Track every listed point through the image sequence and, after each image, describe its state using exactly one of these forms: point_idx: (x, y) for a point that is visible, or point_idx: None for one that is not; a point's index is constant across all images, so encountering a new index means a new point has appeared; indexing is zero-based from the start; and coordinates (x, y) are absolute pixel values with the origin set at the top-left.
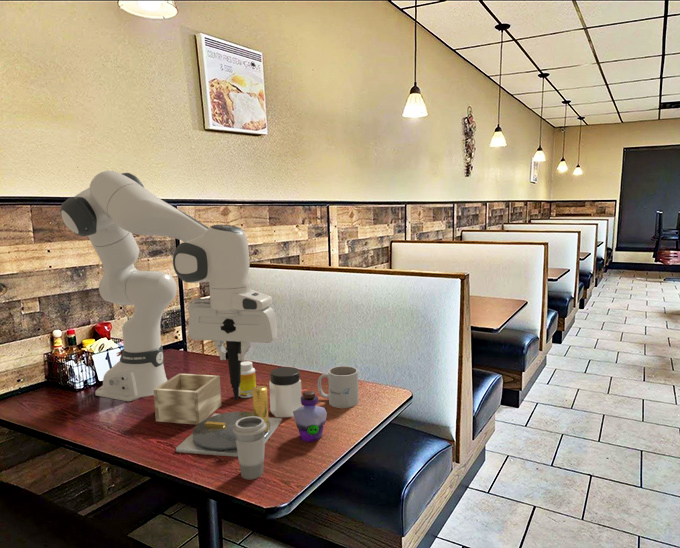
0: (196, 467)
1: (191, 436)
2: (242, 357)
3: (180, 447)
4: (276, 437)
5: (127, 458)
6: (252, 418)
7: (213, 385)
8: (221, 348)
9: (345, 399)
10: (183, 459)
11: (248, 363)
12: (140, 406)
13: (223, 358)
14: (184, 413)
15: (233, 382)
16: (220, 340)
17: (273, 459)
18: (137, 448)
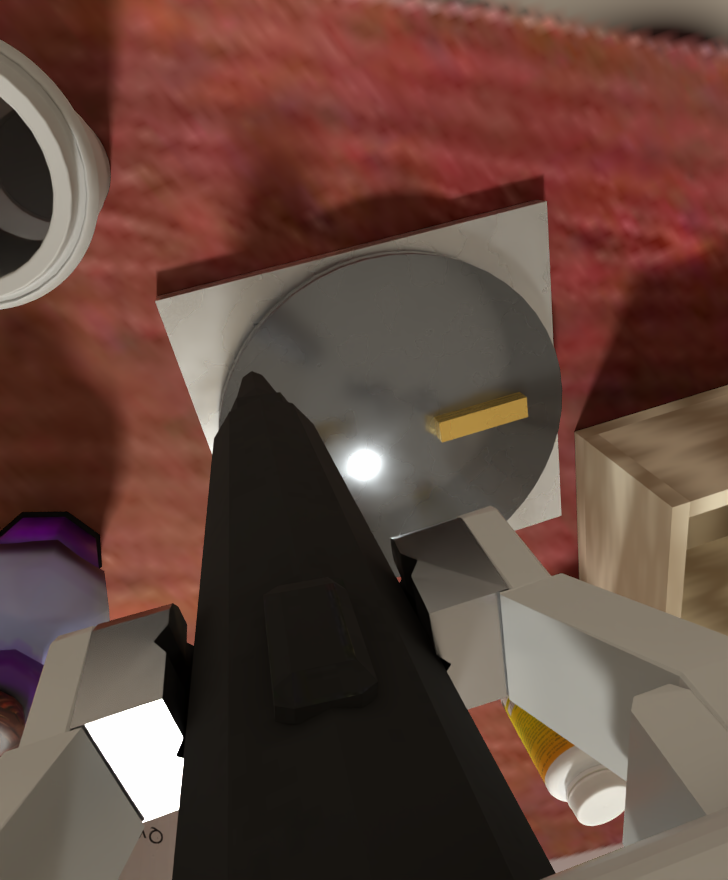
0: (361, 114)
1: (540, 318)
2: (71, 669)
3: (529, 213)
4: (200, 494)
5: (712, 53)
6: (27, 286)
7: None
8: (571, 668)
9: None
10: (466, 154)
11: (591, 810)
12: None
13: (438, 529)
14: (665, 432)
15: (251, 410)
16: (682, 832)
17: (68, 335)
18: (715, 152)
